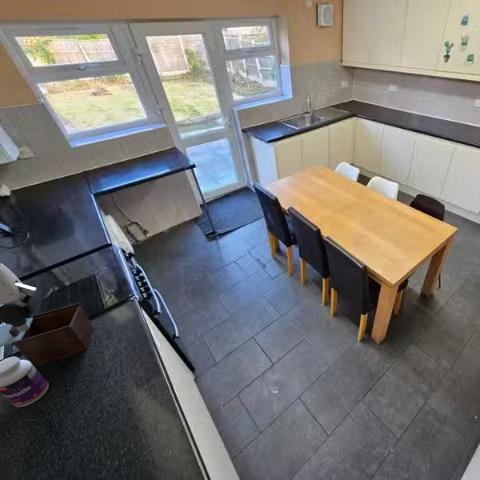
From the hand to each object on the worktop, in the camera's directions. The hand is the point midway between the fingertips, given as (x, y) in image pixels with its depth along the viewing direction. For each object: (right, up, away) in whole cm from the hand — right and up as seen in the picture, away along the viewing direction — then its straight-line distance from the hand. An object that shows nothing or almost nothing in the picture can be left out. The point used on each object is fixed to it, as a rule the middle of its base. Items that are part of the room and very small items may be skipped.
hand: (16, 318), depth 76 cm
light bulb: (0, -4, +3) cm, 5 cm away
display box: (-6, -17, +22) cm, 28 cm away
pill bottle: (-2, -26, +7) cm, 27 cm away
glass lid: (-19, -10, +11) cm, 24 cm away
